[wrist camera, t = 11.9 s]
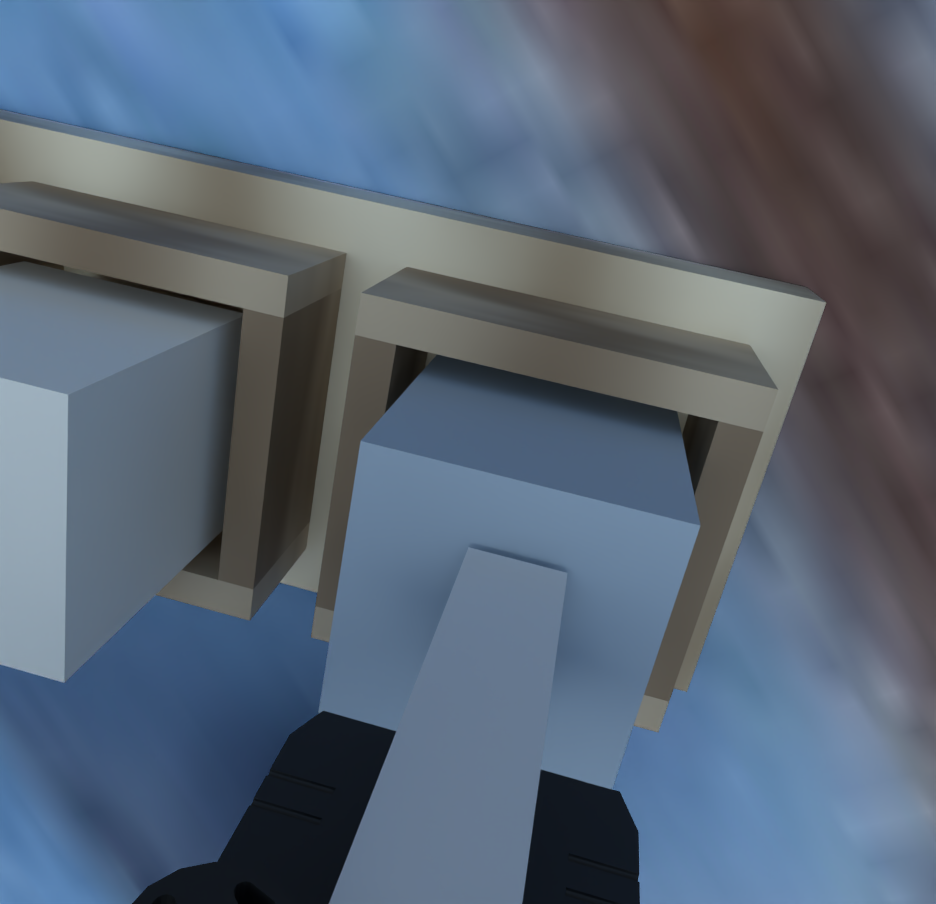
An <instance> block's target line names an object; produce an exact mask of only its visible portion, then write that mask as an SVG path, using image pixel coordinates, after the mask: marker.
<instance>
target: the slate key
mask: <svg viewBox="0 0 936 904" xmlns="http://www.w3.org/2000/svg"><path fill="white" fill-rule="evenodd" d="M699 529H700V521H699V516H698V511H697V506H696V501H695V496H694V491H693V487H692V482H691V477H690V472H689V467H688V462H687V457H686V452H685V448H684V443H683V438H682V433H681V428H680V423H679V418H678V413H677V411H674V410H669V409H665V408H661V407H657V406H653V405H648V404H644V403H640V402H636V401H632V400H627V399H623V398H619V397H615V396H610V395H606V394H602V393H598V392H594V391H589V390H585V389H581V388H577V387H573V386H568V385H564V384H560V383H556V382H552V381H547V380H543V379H539V378H535V377H530V376H526V375H522V374H518V373H514V372H509V371H505V370H501V369H497V368H493V367H488V366H484V365H480V364H476V363H472V362H467V361H463V360H459V359H455V358H450V357H446V356H442V355H438V354H437V355H436V356H435V357H434V358H433V360H432V361H431V362H430V363H429V364H428V365H427V366H426V368H425V369H424V370H423V371H422V372H421V373H420V374H419V375H418V377H417V378H416V379H415V380H414V381H413V382H412V383H411V384H410V386H409V387H408V388H407V389H406V390H405V391H404V392H403V394H402V395H401V396H400V397H399V398H398V399H397V400H396V401H395V403H394V404H393V405H392V406H391V407H390V408H389V409H388V411H387V412H386V413H385V414H384V415H383V416H382V417H381V418H380V420H379V421H378V422H377V423H376V424H375V425H374V426H373V427H372V429H371V430H370V431H369V432H368V433H367V434H366V435H365V437H364V438H363V439H362V440H361V442H360V448H359V454H358V461H357V467H356V474H355V480H354V487H353V493H352V499H351V506H350V512H349V519H348V525H347V531H346V538H345V544H344V551H343V557H342V563H341V570H340V576H339V583H338V589H337V596H336V602H335V608H334V615H333V621H332V628H331V634H330V640H329V647H328V653H327V660H326V666H325V672H324V679H323V685H322V692H321V698H320V705H319V711H318V713H320V712H322V711H327V712H330V713H334V714H337V715H341V716H344V717H348V718H351V719H355V720H358V721H362V722H365V723H369V724H373V725H376V726H380V727H383V728H387V729H390V730H394V731H397V728H398V726H399V723H400V721H401V718H402V716H403V713H404V711H405V708H406V706H407V703H408V700H409V698H410V695H411V693H412V690H413V688H414V685H415V683H416V680H417V677H418V675H419V672H420V670H421V667H422V665H423V662H424V660H425V657H426V654H427V652H428V649H429V647H430V644H431V642H432V639H433V637H434V634H435V632H436V629H437V626H438V624H439V621H440V619H441V616H442V614H443V611H444V609H445V606H446V603H447V601H448V598H449V596H450V593H451V591H452V588H453V586H454V583H455V581H456V578H457V575H458V573H459V570H460V568H461V565H462V563H463V560H464V558H465V555H466V552H467V550H468V547H470V548H474V549H478V550H481V551H485V552H489V553H493V554H497V555H501V556H504V557H508V558H512V559H516V560H520V561H524V562H528V563H531V564H535V565H539V566H543V567H547V568H551V569H554V570H558V571H562V572H566V573H568V574H567V581H566V588H565V595H564V603H563V610H562V617H561V625H560V632H559V639H558V647H557V654H556V661H555V668H554V676H553V683H552V690H551V698H550V705H549V712H548V719H547V727H546V734H545V741H544V749H543V756H542V763H541V770H545V771H548V772H552V773H555V774H559V775H562V776H566V777H569V778H573V779H577V780H580V781H584V782H587V783H591V784H594V785H598V786H601V787H605V788H608V789H612V788H613V785H614V782H615V779H616V776H617V773H618V770H619V767H620V764H621V761H622V758H623V755H624V752H625V749H626V746H627V744H628V741H629V738H630V735H631V732H632V729H633V726H634V723H635V720H636V717H637V714H638V711H639V708H640V705H641V702H642V699H643V696H644V693H645V690H646V687H647V684H648V681H649V678H650V675H651V672H652V669H653V666H654V663H655V660H656V657H657V654H658V651H659V648H660V645H661V642H662V639H663V636H664V633H665V630H666V627H667V624H668V621H669V618H670V615H671V612H672V609H673V606H674V603H675V600H676V597H677V594H678V591H679V588H680V585H681V582H682V579H683V576H684V573H685V570H686V568H687V565H688V562H689V559H690V556H691V553H692V550H693V547H694V544H695V541H696V538H697V535H698V532H699Z"/></svg>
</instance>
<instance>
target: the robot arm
mask: <svg viewBox="0 0 936 904" xmlns="http://www.w3.org/2000/svg"><path fill="white" fill-rule="evenodd" d="M567 574H568V573H566V572H562V571H558V570H554V569H551V568H547V567H543V566H539V565H535V564H531V563H528V562H524V561H520V560H516V559H512V558H508V557H504V556H501V555H497V554H493V553H489V552H485V551H481V550H478V549H474V548H470V547H468V550H467V552H466V555H465V558H464V560H463V563H462V565H461V568H460V570H459V573H458V575H457V578H456V581H455V583H454V586H453V588H452V591H451V593H450V596H449V598H448V601H447V603H446V606H445V609H444V611H443V614H442V616H441V619H440V621H439V624H438V626H437V629H436V632H435V634H434V637H433V639H432V642H431V644H430V647H429V649H428V652H427V654H426V657H425V660H424V662H423V665H422V667H421V670H420V672H419V675H418V677H417V680H416V683H415V685H414V688H413V690H412V693H411V695H410V698H409V700H408V703H407V706H406V708H405V711H404V713H403V716H402V718H401V721H400V723H399V726H398V728H397V731H394V730H390V729H387V728H383V727H380V726H376V725H373V724H369V723H365V722H362V721H358V720H355V719H351V718H348V717H344V716H341V715H337V714H334V713H330V712H327V711H322V712H320V713H319V714H318V715H316V716H315V717H314V718H312V719H311V720H309V721H308V722H307V723H305V724H304V725H303V726H301V727H300V728H298V729H297V730H296V731H294V732H293V733H291V734H290V735H289V737H288V739H287V741H286V742H285V744H284V746H283V748H282V749H281V751H280V753H279V755H278V756H277V758H276V760H275V762H274V763H273V765H272V767H271V769H270V773H269V775H268V776H266V778H265V779H264V781H263V783H262V785H261V786H260V788H259V790H258V792H257V793H256V795H255V797H254V800H253V803H252V805H250V806H249V807H248V809H247V811H246V813H245V814H244V816H243V818H242V820H241V821H240V823H239V825H238V827H237V828H236V830H235V832H234V834H233V835H232V837H231V839H230V841H229V842H228V844H227V846H226V848H225V849H224V851H223V853H222V855H221V856H220V858H219V860H218V862H212V863H207V864H202V865H197V866H192V867H187V868H182V869H179V870H177V871H175V872H173V873H172V874H170V875H168V876H166V877H164V878H163V879H161V880H159V881H157V882H155V883H153V884H152V885H150V886H148V887H147V888H146V889H145V890H144V891H143V893H142V894H141V895H140V896H139V897H138V898H137V899H136V900H135V901H134V902H133V903H132V904H640V894H639V882H638V876H639V837H638V830H637V828H636V826H635V824H634V821H633V819H632V817H631V815H630V813H629V811H628V809H627V806H626V804H625V802H624V800H623V798H622V796H621V793H620V792H619V791H615V790H612V789H608V788H605V787H601V786H598V785H594V784H591V783H587V782H584V781H580V780H577V779H573V778H569V777H566V776H562V775H559V774H555V773H552V772H548V771H545V770H541V763H542V756H543V749H544V741H545V734H546V727H547V719H548V712H549V705H550V698H551V690H552V683H553V676H554V668H555V661H556V654H557V647H558V639H559V632H560V625H561V617H562V610H563V603H564V595H565V588H566V581H567Z"/></svg>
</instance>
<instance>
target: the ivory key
mask: <svg viewBox="0 0 936 904" xmlns="http://www.w3.org/2000/svg"><path fill="white" fill-rule="evenodd" d="M242 318H243V313H240V312H236V311H232V310H227V309H223V308H219V307H215V306H211V305H206V304H202V303H198V302H194V301H190V300H185V299H181V298H177V297H173V296H169V295H164V294H160V293H156V292H152V291H148V290H143V289H139V288H135V287H131V286H127V285H122V284H118V283H114V282H110V281H106V280H101V279H97V278H93V277H89V276H85V275H80V274H76V273H72V272H68V271H64V270H59V269H55V268H51V267H47V266H43V265H38V264H34V263H30V262H26V261H23V262H18V263H13V264H8V265H3V266H0V665H4V666H7V667H11V668H14V669H18V670H21V671H25V672H28V673H32V674H35V675H39V676H42V677H46V678H49V679H52V680H56V681H59V682H63V683H65V682H66V681H67V680H68V679H69V678H70V677H71V676H72V675H73V674H74V673H75V672H76V671H77V670H78V669H79V668H80V667H81V666H82V665H83V664H84V663H86V662H87V661H88V660H89V659H90V658H91V657H92V656H93V655H94V654H95V653H96V652H97V651H98V650H99V649H100V648H101V647H102V646H103V645H104V644H105V643H106V642H107V641H108V640H109V639H110V638H111V637H112V636H114V635H115V634H116V633H117V632H118V631H119V630H120V629H121V628H122V627H123V626H124V625H125V624H126V623H127V622H128V621H129V620H130V619H131V618H132V617H133V616H134V615H135V614H136V613H137V612H138V611H139V610H140V609H142V608H143V607H144V606H145V605H146V604H147V603H148V602H149V601H150V600H151V599H152V598H153V597H154V596H155V595H156V594H157V593H158V592H159V591H160V590H161V589H162V588H163V587H164V586H165V585H166V584H167V583H168V582H170V581H171V580H172V579H173V578H174V577H175V576H176V575H177V574H178V573H179V572H180V571H181V570H182V569H183V568H184V567H185V566H186V565H187V564H188V563H189V562H190V561H191V560H192V559H193V558H194V557H195V556H196V555H198V554H199V553H200V552H201V551H202V550H203V549H204V548H205V547H206V546H207V545H208V544H209V543H210V542H211V541H212V540H213V539H214V538H215V537H216V536H217V535H218V534H219V533H220V532H221V531H222V530H223V522H224V512H225V501H226V490H227V479H228V469H229V458H230V447H231V436H232V426H233V415H234V404H235V393H236V383H237V372H238V361H239V350H240V340H241V329H242Z"/></svg>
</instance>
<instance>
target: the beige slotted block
mask: <svg viewBox="0 0 936 904" xmlns="http://www.w3.org/2000/svg"><path fill="white" fill-rule="evenodd" d="M23 261H26V262H30V263H34V264H38V265H43V266H47V267H51V268H55V269H59V270H64V271H68V272H72V273H76V274H80V275H85V276H89V277H93V278H97V279H101V280H106V281H110V282H114V283H118V284H122V285H127V286H131V287H135V288H139V289H143V290H148V291H152V292H156V293H160V294H164V295H169V296H173V297H177V298H181V299H185V300H190V301H194V302H198V303H202V304H206V305H211V306H215V307H219V308H223V309H227V310H232V311H236V312H240V313H243V318H242V329H241V340H240V350H239V361H238V372H237V383H236V393H235V404H234V415H233V426H232V436H231V447H230V458H229V469H228V479H227V490H226V501H225V512H224V522H223V530H222V531H221V532H220V533H219V534H218V535H217V536H216V537H215V538H214V539H213V540H212V541H211V542H210V543H209V544H208V545H207V546H206V547H205V548H204V549H203V550H202V551H201V552H200V553H199V554H198V555H196V556H195V557H194V558H193V559H192V560H191V561H190V562H189V563H188V564H187V565H186V566H185V567H184V568H183V569H182V570H181V571H180V572H179V573H178V574H177V575H176V576H175V577H174V578H173V579H172V580H171V581H170V582H168V583H167V584H166V585H165V586H164V587H163V588H162V589H161V590H160V591H159V592H158V593H157V594H156V595H158V596H161V597H165V598H169V599H172V600H176V601H180V602H183V603H187V604H191V605H194V606H198V607H202V608H205V609H209V610H213V611H216V612H220V613H224V614H227V615H231V616H235V617H238V618H242V619H246V620H249V621H250V620H251V618H252V617H253V616H254V615H255V613H256V612H257V611H258V610H259V608H260V607H261V606H262V604H263V603H264V602H265V601H266V599H267V598H268V597H269V595H270V594H271V593H272V592H273V590H274V589H275V588H276V587H277V585H278V584H279V583H283V584H287V585H290V586H294V587H298V588H302V589H305V590H309V591H313V592H317V599H316V606H315V612H314V619H313V626H312V633H311V638H315V639H319V640H322V641H326V642H329V640H330V634H331V628H332V621H333V615H334V608H335V602H336V596H337V589H338V583H339V576H340V570H341V563H342V557H343V551H344V544H345V538H346V531H347V525H348V519H349V512H350V506H351V499H352V493H353V487H354V480H355V474H356V467H357V461H358V454H359V448H360V442H361V440H362V439H363V438H364V437H365V435H366V434H367V433H368V432H369V431H370V430H371V429H372V427H373V426H374V425H375V424H376V423H377V422H378V421H379V420H380V418H381V417H382V416H383V415H384V414H385V413H386V412H387V411H388V409H389V408H390V407H391V406H392V405H393V404H394V403H395V401H396V400H397V399H398V398H399V397H400V396H401V395H402V394H403V392H404V391H405V390H406V389H407V388H408V387H409V386H410V384H411V383H412V382H413V381H414V380H415V379H416V378H417V377H418V375H419V374H420V373H421V372H422V371H423V370H424V369H425V368H426V366H427V365H428V364H429V363H430V362H431V361H432V360H433V358H434V357H435V356H436V355H437V354H438V355H442V356H446V357H450V358H455V359H459V360H463V361H467V362H472V363H476V364H480V365H484V366H488V367H493V368H497V369H501V370H505V371H509V372H514V373H518V374H522V375H526V376H530V377H535V378H539V379H543V380H547V381H552V382H556V383H560V384H564V385H568V386H573V387H577V388H581V389H585V390H589V391H594V392H598V393H602V394H606V395H610V396H615V397H619V398H623V399H627V400H632V401H636V402H640V403H644V404H648V405H653V406H657V407H661V408H665V409H669V410H674V411H677V413H678V418H679V423H680V428H681V433H682V438H683V443H684V448H685V452H686V457H687V462H688V467H689V472H690V477H691V482H692V487H693V491H694V496H695V501H696V506H697V511H698V516H699V521H700V529H699V532H698V535H697V538H696V541H695V544H694V547H693V550H692V553H691V556H690V559H689V562H688V565H687V568H686V570H685V573H684V576H683V579H682V582H681V585H680V588H679V591H678V594H677V597H676V600H675V603H674V606H673V609H672V612H671V615H670V618H669V621H668V624H667V627H666V630H665V633H664V636H663V639H662V642H661V645H660V648H659V651H658V654H657V657H656V660H655V663H654V666H653V669H652V672H651V675H650V678H649V681H648V684H647V687H646V690H645V693H644V696H643V699H642V702H641V705H640V708H639V711H638V714H637V717H636V720H635V723H634V726H637V727H640V728H644V729H648V730H651V731H655V732H659V729H660V726H661V723H662V720H663V717H664V714H665V712H666V709H667V706H668V703H669V700H670V697H671V694H672V692H673V689H674V688H675V689H678V690H682V691H686V692H687V690H688V687H689V684H690V681H691V679H692V676H693V673H694V670H695V668H696V665H697V662H698V659H699V656H700V654H701V651H702V648H703V645H704V642H705V640H706V637H707V634H708V631H709V628H710V626H711V623H712V620H713V617H714V615H715V612H716V609H717V606H718V603H719V601H720V598H721V595H722V592H723V589H724V587H725V584H726V581H727V578H728V575H729V573H730V570H731V567H732V564H733V562H734V559H735V556H736V553H737V550H738V548H739V545H740V542H741V539H742V536H743V534H744V531H745V528H746V525H747V522H748V520H749V517H750V514H751V511H752V509H753V506H754V503H755V500H756V497H757V495H758V492H759V489H760V486H761V483H762V481H763V478H764V475H765V472H766V469H767V467H768V464H769V461H770V458H771V456H772V453H773V450H774V447H775V444H776V442H777V439H778V436H779V433H780V430H781V428H782V425H783V422H784V419H785V416H786V414H787V411H788V408H789V405H790V403H791V400H792V397H793V394H794V391H795V389H796V386H797V383H798V380H799V377H800V375H801V372H802V369H803V366H804V363H805V361H806V358H807V355H808V352H809V350H810V347H811V344H812V341H813V338H814V336H815V333H816V330H817V327H818V324H819V322H820V319H821V316H822V313H823V310H824V308H825V305H826V302H825V301H824V300H822V299H821V298H820V297H819V296H817V295H816V294H815V293H813V292H812V291H811V290H810V289H808V288H807V287H803V286H799V285H794V284H790V283H785V282H781V281H776V280H772V279H767V278H763V277H758V276H754V275H749V274H745V273H740V272H735V271H731V270H726V269H722V268H717V267H713V266H708V265H704V264H699V263H695V262H690V261H686V260H681V259H677V258H672V257H668V256H663V255H658V254H654V253H649V252H645V251H640V250H636V249H631V248H627V247H622V246H618V245H613V244H609V243H604V242H600V241H595V240H590V239H586V238H581V237H577V236H572V235H568V234H563V233H559V232H554V231H550V230H545V229H541V228H536V227H532V226H527V225H522V224H518V223H513V222H509V221H504V220H500V219H495V218H491V217H486V216H482V215H477V214H473V213H468V212H464V211H459V210H455V209H450V208H445V207H441V206H436V205H432V204H427V203H423V202H418V201H414V200H409V199H405V198H400V197H396V196H391V195H387V194H382V193H377V192H373V191H368V190H364V189H359V188H355V187H350V186H346V185H341V184H337V183H332V182H328V181H323V180H319V179H314V178H310V177H305V176H300V175H296V174H291V173H287V172H282V171H278V170H273V169H269V168H264V167H260V166H255V165H251V164H246V163H242V162H237V161H232V160H228V159H223V158H219V157H214V156H210V155H205V154H201V153H196V152H192V151H187V150H183V149H178V148H174V147H169V146H164V145H160V144H155V143H151V142H146V141H142V140H137V139H133V138H128V137H124V136H119V135H115V134H110V133H106V132H101V131H97V130H92V129H87V128H83V127H78V126H74V125H69V124H65V123H60V122H56V121H51V120H47V119H42V118H38V117H33V116H29V115H24V114H19V113H15V112H10V111H6V110H1V109H0V266H3V265H8V264H13V263H18V262H23Z"/></svg>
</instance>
